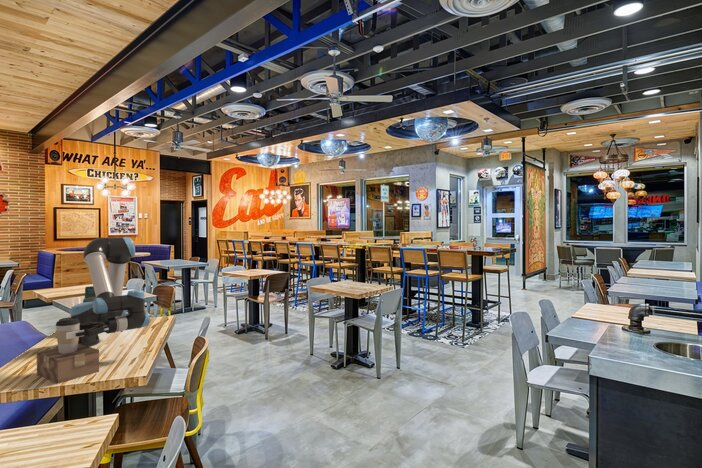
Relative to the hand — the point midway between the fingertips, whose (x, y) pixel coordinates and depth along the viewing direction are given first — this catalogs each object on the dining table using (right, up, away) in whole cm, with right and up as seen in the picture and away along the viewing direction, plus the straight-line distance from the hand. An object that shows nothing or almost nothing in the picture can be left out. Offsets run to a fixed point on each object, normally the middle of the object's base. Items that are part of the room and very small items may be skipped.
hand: (61, 333), depth 169 cm
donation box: (-35, -18, +77) cm, 87 cm away
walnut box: (+2, -18, +2) cm, 19 cm away
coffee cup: (+1, -9, +2) cm, 9 cm away
